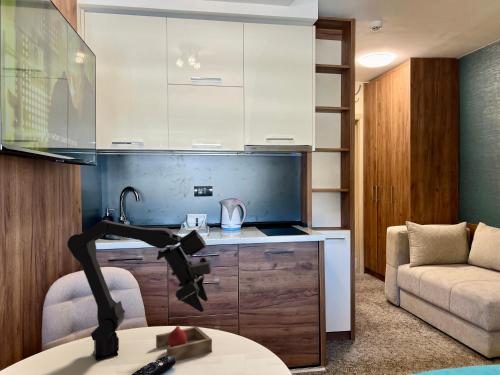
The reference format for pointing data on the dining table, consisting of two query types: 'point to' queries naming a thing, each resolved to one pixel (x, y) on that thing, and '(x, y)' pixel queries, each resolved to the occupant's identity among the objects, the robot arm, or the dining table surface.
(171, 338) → the onion
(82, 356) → the dining table surface
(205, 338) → the ball
